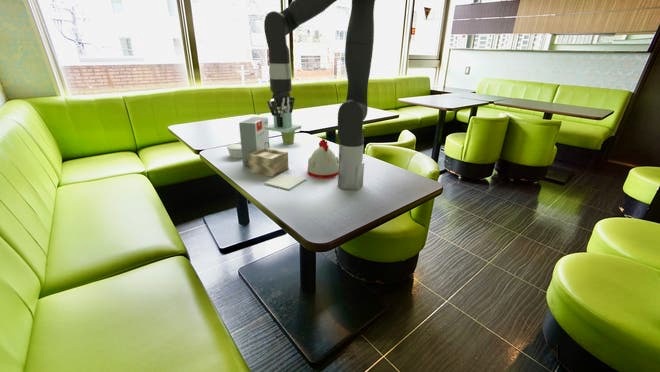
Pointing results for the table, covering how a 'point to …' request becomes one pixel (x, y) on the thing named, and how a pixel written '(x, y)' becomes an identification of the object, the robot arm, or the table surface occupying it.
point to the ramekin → (235, 150)
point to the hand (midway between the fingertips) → (283, 125)
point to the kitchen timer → (323, 162)
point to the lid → (284, 124)
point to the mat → (285, 181)
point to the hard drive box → (253, 136)
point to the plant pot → (288, 137)
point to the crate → (268, 162)
